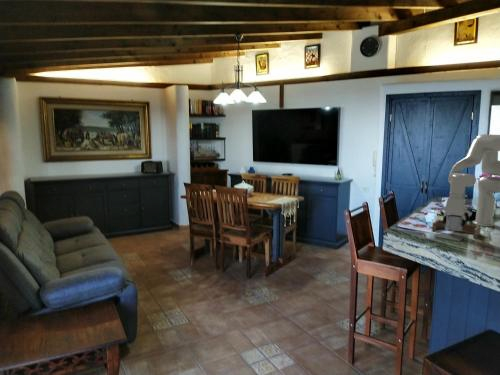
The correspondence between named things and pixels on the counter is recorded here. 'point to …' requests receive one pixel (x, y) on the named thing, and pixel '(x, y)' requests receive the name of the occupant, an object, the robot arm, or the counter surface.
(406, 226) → the counter surface
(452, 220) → the medicine box
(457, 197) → the robot arm
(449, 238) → the mat
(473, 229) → the open side wooden frame
